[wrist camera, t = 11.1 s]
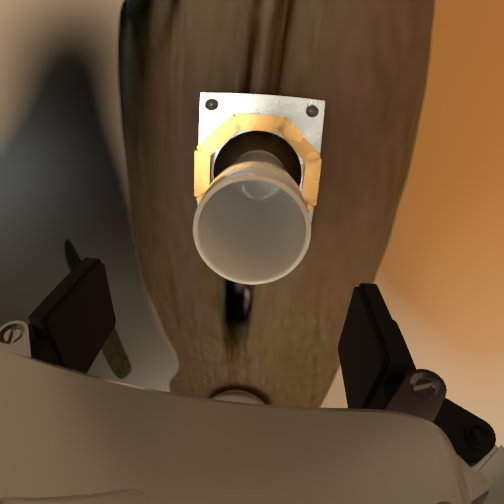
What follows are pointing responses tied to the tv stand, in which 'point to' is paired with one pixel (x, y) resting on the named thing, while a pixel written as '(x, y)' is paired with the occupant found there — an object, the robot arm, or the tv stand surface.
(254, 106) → the octagon ring knob plate
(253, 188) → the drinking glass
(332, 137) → the tv stand surface
